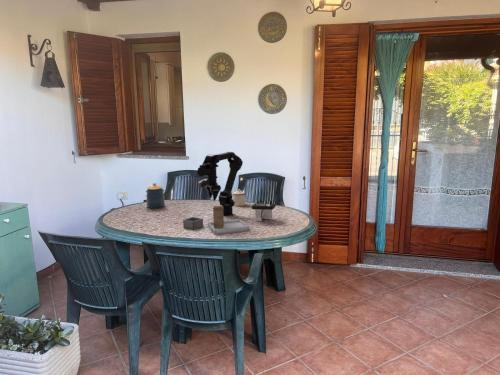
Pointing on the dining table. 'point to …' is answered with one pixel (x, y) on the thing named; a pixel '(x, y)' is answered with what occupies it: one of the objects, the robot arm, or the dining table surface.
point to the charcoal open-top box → (193, 223)
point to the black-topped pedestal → (263, 210)
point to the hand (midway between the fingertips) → (212, 199)
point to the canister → (155, 196)
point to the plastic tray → (229, 227)
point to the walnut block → (218, 216)
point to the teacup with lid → (239, 198)
